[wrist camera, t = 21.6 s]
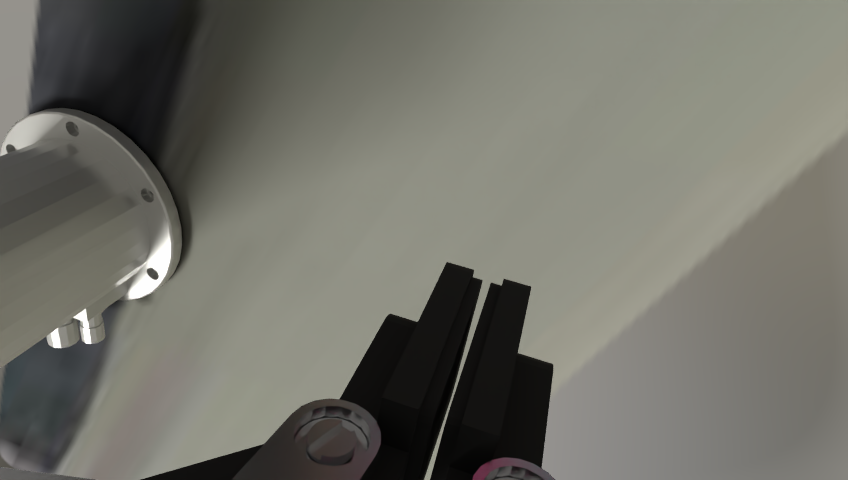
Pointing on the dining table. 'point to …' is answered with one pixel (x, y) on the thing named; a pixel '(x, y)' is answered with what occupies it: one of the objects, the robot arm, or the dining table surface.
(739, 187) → the dining table surface
